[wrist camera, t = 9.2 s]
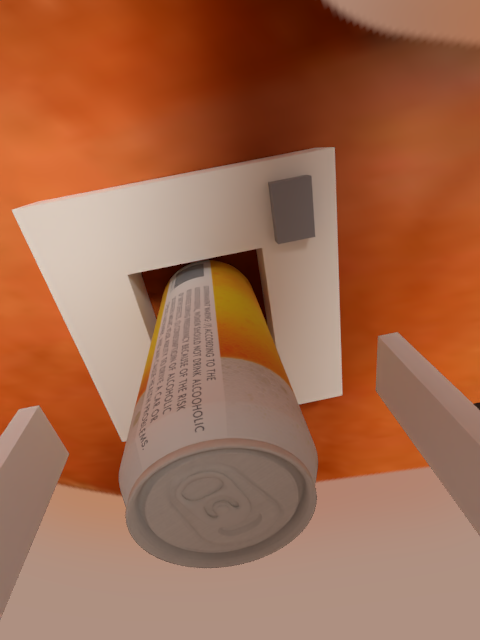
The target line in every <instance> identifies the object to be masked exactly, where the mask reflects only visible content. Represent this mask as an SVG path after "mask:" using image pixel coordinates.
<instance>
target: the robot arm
mask: <svg viewBox="0 0 480 640" xmlns="http://www.w3.org/2000/svg"><path fill="white" fill-rule="evenodd" d="M376 392H377V393H378V394H379V396H380V397H381V399H382V400H383V401H384V403H385V404H386V406H387V407H388V408H389V410H390V411H391V413H392V414H393V415H394V417H395V418H396V420H397V421H398V422H399V424H400V425H401V427H402V428H403V429H404V431H405V432H406V434H407V435H408V436H409V438H410V439H411V441H412V442H413V443H414V445H415V446H416V448H417V449H418V450H419V452H420V453H421V455H422V456H423V457H424V459H425V460H426V462H427V463H428V464H429V466H430V467H431V469H432V470H433V471H434V473H435V474H436V475H437V477H438V478H439V480H440V481H441V482H442V483H443V485H444V487H445V488H446V489H447V491H448V492H449V494H450V495H451V496H452V498H453V499H454V501H455V502H456V503H457V505H458V506H459V508H460V509H461V510H462V512H463V513H464V514H465V516H466V517H467V519H468V520H469V522H470V523H471V524H472V526H473V527H474V529H475V530H476V531H477V533H478V534H479V535H480V403H475V404H473V403H472V402H471V401H469V400H468V399H467V398H466V397H465V396H464V395H463V394H462V393H461V392H460V391H459V390H458V389H457V388H456V387H455V386H454V385H453V384H452V383H451V382H449V381H448V380H447V379H446V378H445V377H444V376H443V375H442V374H441V373H440V372H439V371H438V370H437V369H436V368H435V367H434V366H433V365H432V364H431V363H429V362H428V361H427V360H426V359H425V358H424V357H423V356H422V355H421V354H420V353H419V352H418V351H417V350H416V349H415V348H414V347H413V346H412V345H411V344H409V343H408V342H407V341H406V340H405V339H404V338H403V337H402V336H401V335H400V334H399V333H398V332H396V333H391V334H386V335H381V336H378V350H377V374H376ZM68 456H69V453H68V451H67V450H66V448H65V446H64V445H63V443H62V441H61V440H60V438H59V437H58V435H57V433H56V432H55V430H54V429H53V427H52V425H51V424H50V422H49V421H48V419H47V417H46V416H45V414H44V413H43V411H42V409H41V408H40V406H39V405H38V406H33V407H28V408H23V409H19V410H18V411H17V413H16V414H15V416H14V417H13V419H12V420H11V422H10V423H9V425H8V426H7V428H6V429H5V431H4V432H3V434H2V435H1V437H0V619H1V616H2V614H3V612H4V610H5V607H6V605H7V602H8V600H9V598H10V595H11V592H12V590H13V588H14V586H15V583H16V580H17V578H18V576H19V573H20V571H21V569H22V566H23V564H24V561H25V559H26V557H27V554H28V552H29V550H30V547H31V545H32V542H33V540H34V537H35V535H36V533H37V530H38V528H39V526H40V523H41V521H42V518H43V516H44V514H45V511H46V508H47V506H48V504H49V501H50V499H51V497H52V494H53V492H54V490H55V487H56V485H57V482H58V480H59V478H60V475H61V473H62V470H63V468H64V466H65V463H66V461H67V458H68Z"/></svg>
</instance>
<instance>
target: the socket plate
mask: <svg viewBox="0 0 480 640" xmlns="http://www.w3.org/2000/svg"><path fill="white" fill-rule="evenodd" d="M12 212H13V214H14V216H15V218H16V220H17V222H18V224H19V227H20V229H21V231H22V233H23V235H24V237H25V239H26V241H27V243H28V245H29V248H30V250H31V252H32V254H33V256H34V258H35V260H36V262H37V264H38V266H39V268H40V271H41V273H42V275H43V277H44V279H45V281H46V283H47V285H48V287H49V289H50V292H51V294H52V296H53V298H54V300H55V302H56V304H57V306H58V308H59V310H60V313H61V315H62V317H63V319H64V321H65V323H66V325H67V327H68V329H69V331H70V333H71V336H72V338H73V340H74V342H75V344H76V346H77V348H78V350H79V352H80V354H81V357H82V359H83V361H84V363H85V365H86V367H87V369H88V371H89V373H90V375H91V378H92V380H93V382H94V384H95V386H96V388H97V390H98V392H99V394H100V396H101V399H102V401H103V403H104V405H105V407H106V409H107V411H108V413H109V415H110V417H111V419H112V422H113V424H114V426H115V428H116V430H117V432H118V434H119V436H120V438H121V440H122V442H125V441H127V437H128V433H129V429H130V425H131V421H132V417H133V413H134V409H135V405H136V401H137V397H138V393H139V389H140V385H141V381H142V377H143V373H144V369H145V365H146V361H147V357H148V353H149V349H150V345H151V341H152V337H153V333H154V329H155V325H156V321H157V320H156V317H155V314H154V311H153V308H152V305H151V302H150V299H149V296H148V293H147V290H146V286H145V283H144V280H143V277H142V274H141V272H144V271H149V270H154V269H159V268H164V267H169V266H174V265H179V264H184V263H189V262H194V261H199V260H204V259H209V258H214V257H219V256H224V255H229V254H234V253H239V252H244V251H249V250H254V249H256V252H257V259H258V266H259V273H260V279H261V286H262V293H263V299H264V306H265V313H266V319H267V326H268V329H269V331H270V334H271V336H272V339H273V341H274V344H275V346H276V349H277V351H278V354H279V357H280V359H281V362H282V364H283V367H284V369H285V372H286V374H287V377H288V379H289V382H290V384H291V387H292V389H293V392H294V394H295V397H296V399H297V402H298V404H304V403H308V402H313V401H318V400H323V399H327V398H332V397H337V396H341V395H342V364H341V332H340V299H339V267H338V235H337V203H336V171H335V147H323V148H312V149H307V150H302V151H296V152H291V153H286V154H281V155H276V156H271V157H265V158H260V159H255V160H250V161H245V162H240V163H235V164H229V165H224V166H219V167H214V168H209V169H204V170H198V171H193V172H188V173H183V174H178V175H173V176H168V177H162V178H157V179H152V180H147V181H142V182H137V183H132V184H126V185H121V186H116V187H111V188H106V189H101V190H95V191H90V192H85V193H80V194H75V195H70V196H65V197H59V198H54V199H49V200H44V201H39V202H35V203H32V204H29V205H26V206H22V207H19V208H16V209H13V210H12Z"/></svg>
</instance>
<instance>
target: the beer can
mask: <svg viewBox="0 0 480 640" xmlns="http://www.w3.org/2000/svg"><path fill="white" fill-rule="evenodd" d="M317 468H318V457H317V451H316V448H315V445H314V442H313V440H312V437H311V435H310V432H309V430H308V427H307V425H306V422H305V420H304V417H303V414H302V412H301V409H300V407H299V404H298V402H297V399H296V397H295V394H294V392H293V389H292V387H291V384H290V382H289V379H288V377H287V374H286V372H285V369H284V367H283V364H282V362H281V359H280V357H279V354H278V351H277V349H276V346H275V344H274V341H273V339H272V336H271V334H270V331H269V329H268V326H267V324H266V321H265V319H264V316H263V314H262V311H261V309H260V306H259V304H258V301H257V299H256V296H255V294H254V291H253V289H252V286H251V284H250V282H249V281H248V279H247V278H246V277H245V276H244V275H243V274H242V273H241V272H240V271H239V270H238V269H236V268H235V267H233V266H231V265H229V264H226V263H223V262H219V261H212V260H207V261H198V262H195V263H192V264H189V265H187V266H185V267H183V268H182V269H180V270H179V271H177V272H176V273H175V274H174V275H173V276H172V278H171V279H170V280H169V282H168V283H167V285H166V287H165V290H164V293H163V297H162V301H161V305H160V309H159V313H158V317H157V321H156V325H155V329H154V333H153V337H152V341H151V345H150V349H149V353H148V357H147V361H146V365H145V369H144V373H143V377H142V381H141V385H140V389H139V393H138V397H137V401H136V405H135V409H134V413H133V417H132V421H131V425H130V429H129V433H128V437H127V441H126V445H125V449H124V453H123V457H122V461H121V465H120V470H119V485H120V490H121V494H122V497H123V500H124V503H125V506H126V523H127V527H128V530H129V532H130V534H131V536H132V537H133V539H134V540H135V541H136V543H137V544H138V545H139V546H141V548H143V549H144V550H145V551H147V552H148V553H149V554H151V555H153V556H155V557H157V558H159V559H162V560H164V561H166V562H170V563H173V564H177V565H181V566H187V567H197V568H219V567H228V566H234V565H240V564H244V563H247V562H251V561H254V560H257V559H260V558H262V557H265V556H267V555H269V554H272V553H273V552H276V551H277V550H279V549H281V548H283V547H284V546H285V545H287V544H288V543H290V542H291V541H292V540H294V539H295V538H296V537H297V536H298V535H299V534H300V533H301V532H302V531H303V530H304V529H305V527H306V526H307V525H308V523H309V521H310V520H311V518H312V516H313V514H314V511H315V507H316V500H317V495H316V488H315V483H316V476H317Z"/></svg>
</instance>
